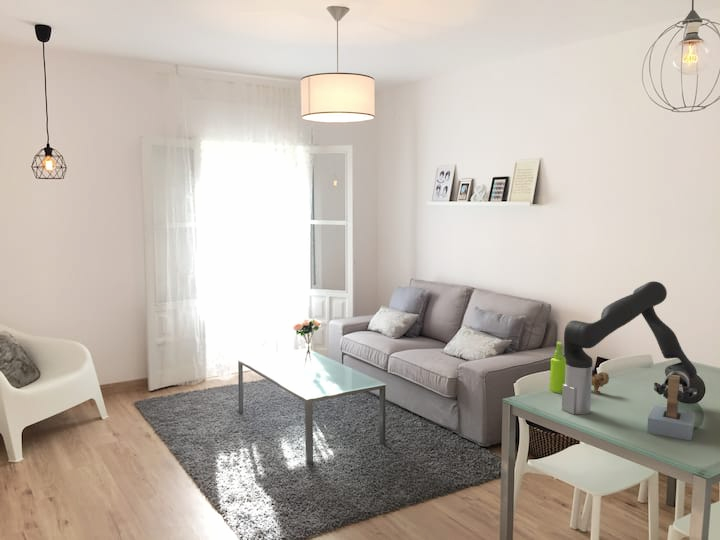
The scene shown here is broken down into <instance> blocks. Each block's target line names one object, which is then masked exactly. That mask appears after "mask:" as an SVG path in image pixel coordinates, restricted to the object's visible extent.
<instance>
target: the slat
mask: <svg viewBox="0 0 720 540" xmlns="http://www.w3.org/2000/svg"><path fill="white" fill-rule="evenodd" d="M679 383H680V376H677V375H670V376H669V380H668V399H666V401H667V402H666V408H667V414H666V417H667V418H673V419H677V416H678V410H679V401H678V400H677V395H678V392H679Z"/></svg>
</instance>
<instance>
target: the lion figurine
mask: <svg viewBox="0 0 720 540" xmlns="http://www.w3.org/2000/svg"><path fill="white" fill-rule="evenodd" d="M609 381H610V377H609V374H608V373H607V372H606V371H601V372H599V373H595V374H594V375H593V374H592V385H591V386H593V390H594V391H593V392H594V395H598V394H599V393H600V392H601V391H600V390H599V388H602V387H604V386H605V385H607V384H609ZM598 392H599V393H598Z"/></svg>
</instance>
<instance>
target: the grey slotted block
mask: <svg viewBox="0 0 720 540" xmlns="http://www.w3.org/2000/svg"><path fill="white" fill-rule="evenodd" d="M666 414H667V406H666V407H665V406H658V405H655V404H654V405H653V406H652V407H651V410H650V412H649V415H648V417H647V427H646V428H647V432H646V433H647V434H648V433H649V434H653V435H659V436H665V437H670V438H676V439H680V440H686V441H693V440H692V439H693V434H694V429H695V417H696V411H690V410H685V409H678V416H677V419H673V418H667V417H666Z"/></svg>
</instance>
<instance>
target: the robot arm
mask: <svg viewBox="0 0 720 540" xmlns="http://www.w3.org/2000/svg"><path fill="white" fill-rule="evenodd" d="M667 294H668V291H667V288H666V287H665V285H663V283H661V282H659V281H649V282H646V283H644V284H642V285H641V286H638V287H637V288H635V289H634V291H633V292H632V293H631V294H628V295H626V296H624V297H621V298H619V299H618V300H615V301H613V302H612V303H610V304H608V305H607V306H605V307H604V308H603V310H602V312H601V316H600V319H598V320H597V321H594V322H585V321H580V320H570V321H569V322H568V323H567V324H566V326H565V327H564V332H563V357H564V359H566V370H565V384H563V390H562V393H561V396H562V397H561V410H563V411H565V412H567V413H570V414H572V415H587V414H589V413H591V405H592V401H591V400H592V399H591V398H592V386H593V385H592V376H593V362H594V361H593V358H592V357H591V356H590V355H589V354H587V353H586V351H584V349H592V348H594V347H595V346H597V345H599V344H600V342H602V340H604V339H605V338H607V337H608V336H610V335H611V334H612V333H614V332H615V331H617V330H618V329H620V328H622V327H624V326H625V325H627V324H629V323H630V322H632V321H633V320H634V319H636V318H637V317H638V316H640V315H642V317H643V319H644V321H645V322H646V323H647V325H648V327H649V328H650V330H651V332H652V333H653V336H654V337H655V339H656V341H657V344H658V347H659V350H660V351H661V354H662V356H663V358H664V359H666V360H667V359H668V360H669V359H678V360H679V361H680V362H676V363H674V364H673V363H672V364H670V365H667V366H666V367H665V369H664V373H665V376H666V378H665V379H664V380H665V381H664V382H662V384H661V383H658V382H653V390H654V391H655V392H656V393H657V394H658V395H660V396H661V395H663V398H665V400H667V399H668V380H669V376H670V375H677V376H680V383H679V392H678V395H677V400H678V402H680V401H681V400H683V398H685V399H687V400H689V399H692V398H694V397H697V393H698V391H697V390H698V389H697V388H696V387H693V388H691V387H690V380H694V379H695V378H697V374H698V372H697V369H696V367H695V365H694V364H693V363H692V361H691V360H690V359H689V358H688V356H686V354H685V352H684V351H683V348H682V346H681V344H680V341H679V340H678V337H677V335H676V333H675V332H674V330H672V328H670V326H669V325H667V324H666V323H665V322H663V321H662V319H660V317H659V316H658V314H657V313H656V311H655V308H654V307H655V306H658V305H660V304H661V303H663V302H664V301H665V300H666V298H667Z"/></svg>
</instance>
